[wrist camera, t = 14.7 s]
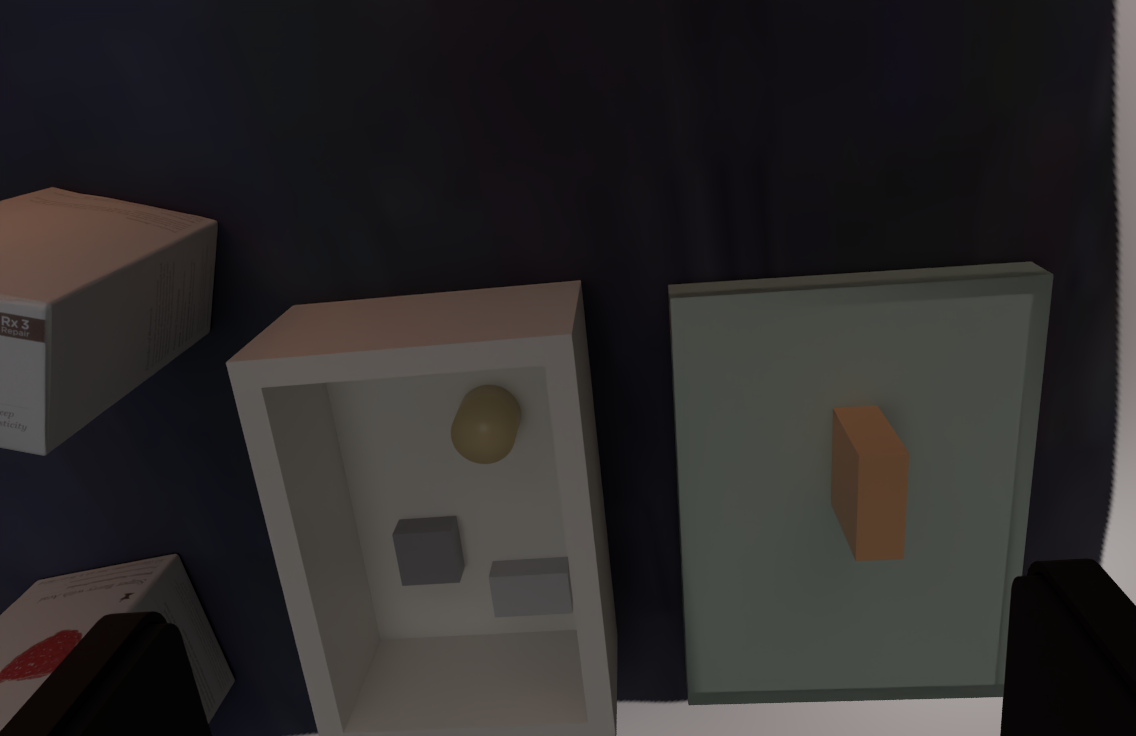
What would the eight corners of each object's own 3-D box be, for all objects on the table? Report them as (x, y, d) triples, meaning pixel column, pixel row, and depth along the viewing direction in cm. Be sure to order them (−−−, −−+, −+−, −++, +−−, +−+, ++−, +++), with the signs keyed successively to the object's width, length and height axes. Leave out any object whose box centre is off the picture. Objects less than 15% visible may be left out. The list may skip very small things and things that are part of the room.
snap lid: (667, 284, 43) (676, 334, 36) (1031, 261, 41) (1111, 308, 35) (685, 676, 51) (695, 777, 44) (992, 667, 49) (1051, 770, 42)
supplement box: (181, 547, 50) (6, 753, 36) (239, 680, 52) (99, 919, 38) (32, 576, 51) (-194, 786, 37) (97, 704, 54) (-89, 943, 40)
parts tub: (293, 305, 44) (226, 362, 37) (580, 280, 43) (571, 334, 35) (367, 647, 51) (323, 754, 44) (617, 634, 50) (616, 742, 42)
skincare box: (53, 298, 45) (-203, 421, 31) (53, 177, 43) (-223, 250, 29) (222, 333, 45) (42, 471, 31) (229, 214, 43) (40, 305, 29)
